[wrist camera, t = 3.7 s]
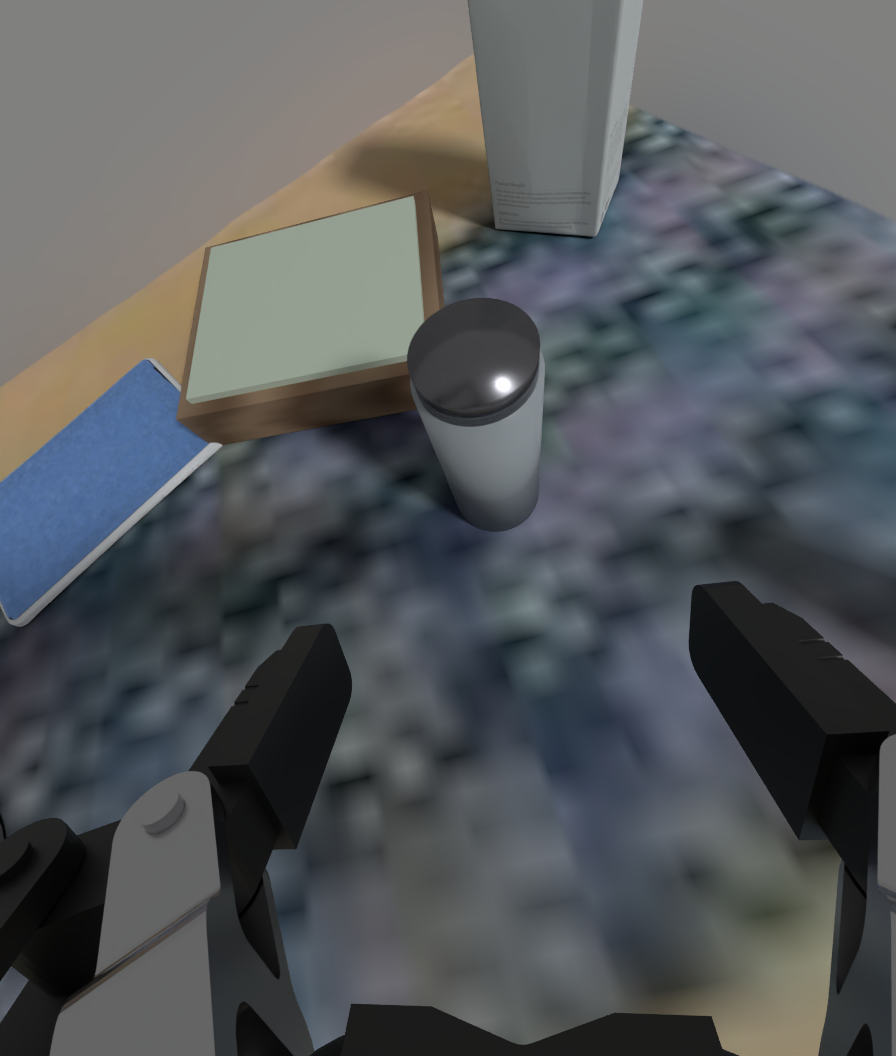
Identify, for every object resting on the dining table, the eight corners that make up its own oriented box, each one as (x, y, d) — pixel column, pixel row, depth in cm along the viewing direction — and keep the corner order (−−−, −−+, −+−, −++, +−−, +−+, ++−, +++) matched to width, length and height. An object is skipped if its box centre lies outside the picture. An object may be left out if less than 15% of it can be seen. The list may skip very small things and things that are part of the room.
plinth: (213, 446, 31) (169, 414, 27) (234, 286, 36) (201, 241, 33) (454, 402, 28) (443, 361, 25) (437, 237, 34) (426, 183, 30)
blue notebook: (159, 360, 36) (146, 349, 35) (238, 440, 32) (226, 431, 30) (-27, 523, 34) (-48, 518, 32) (29, 634, 29) (7, 632, 28)
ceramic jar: (459, 536, 25) (404, 423, 14) (452, 462, 27) (398, 309, 16) (544, 525, 24) (557, 396, 13) (531, 450, 26) (534, 280, 15)
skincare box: (617, 186, 32) (682, -181, 18) (594, 244, 31) (647, -108, 17) (512, 179, 35) (500, -150, 21) (487, 233, 33) (455, -84, 19)
